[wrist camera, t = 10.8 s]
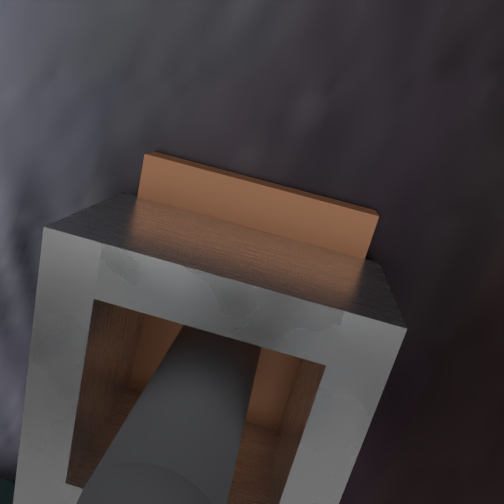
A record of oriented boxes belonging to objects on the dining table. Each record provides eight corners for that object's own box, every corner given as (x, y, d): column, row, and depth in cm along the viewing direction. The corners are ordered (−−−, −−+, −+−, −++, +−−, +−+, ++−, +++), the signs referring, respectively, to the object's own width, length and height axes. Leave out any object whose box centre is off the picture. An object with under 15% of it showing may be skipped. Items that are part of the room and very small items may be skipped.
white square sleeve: (123, 192, 16) (43, 226, 11) (379, 263, 16) (407, 328, 11) (88, 407, 19) (12, 507, 14) (304, 472, 18) (302, 597, 14)
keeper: (106, 426, 20) (-96, 730, 10) (154, 151, 17) (-87, 211, 7) (285, 479, 20) (256, 850, 10) (375, 210, 16) (473, 368, 6)
